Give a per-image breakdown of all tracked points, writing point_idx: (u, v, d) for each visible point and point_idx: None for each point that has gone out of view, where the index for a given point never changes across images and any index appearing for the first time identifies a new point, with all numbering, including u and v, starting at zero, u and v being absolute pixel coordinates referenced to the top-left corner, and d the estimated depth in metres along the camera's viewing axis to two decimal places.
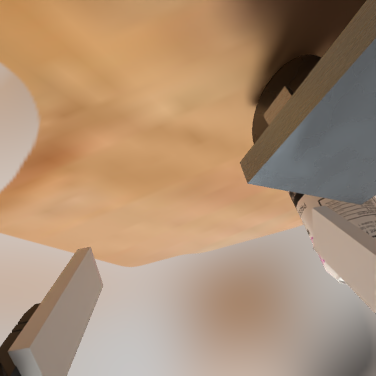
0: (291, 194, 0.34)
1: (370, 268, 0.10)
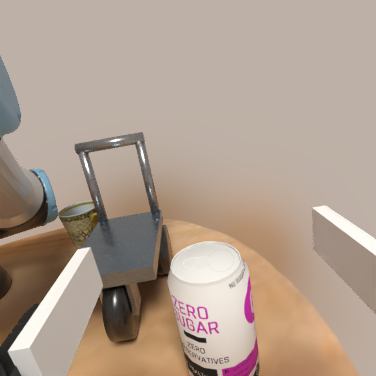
0: (192, 370, 0.27)
1: (370, 268, 0.10)
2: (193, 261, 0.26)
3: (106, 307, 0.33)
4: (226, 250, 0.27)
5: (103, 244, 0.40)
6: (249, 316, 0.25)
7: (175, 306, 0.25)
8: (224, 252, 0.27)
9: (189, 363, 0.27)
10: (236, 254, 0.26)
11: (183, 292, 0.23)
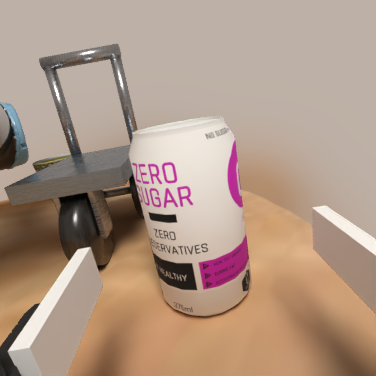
0: (162, 275, 0.21)
1: (370, 267, 0.10)
2: (163, 129, 0.20)
3: (63, 219, 0.27)
4: (206, 120, 0.21)
5: (69, 164, 0.34)
6: (235, 193, 0.19)
7: (137, 179, 0.19)
8: (203, 121, 0.21)
9: (159, 266, 0.21)
10: None
11: (144, 149, 0.17)
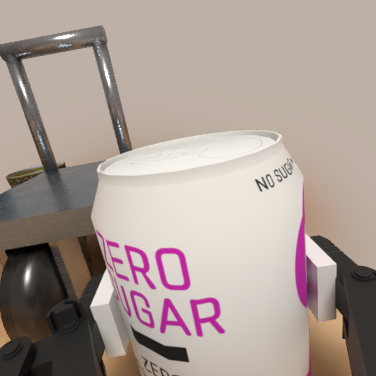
0: None
1: None
2: (159, 156, 0.11)
3: (7, 285, 0.17)
4: (238, 138, 0.11)
5: (32, 189, 0.25)
6: (304, 289, 0.09)
7: (107, 261, 0.09)
8: (235, 139, 0.11)
9: None
10: (265, 137, 0.10)
11: (116, 210, 0.08)
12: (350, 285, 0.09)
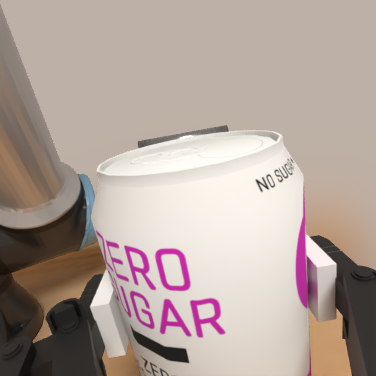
0: None
1: None
2: (159, 156, 0.11)
3: None
4: (238, 138, 0.11)
5: None
6: (305, 289, 0.09)
7: (107, 262, 0.09)
8: (235, 140, 0.11)
9: None
10: (266, 137, 0.10)
11: (116, 210, 0.08)
12: (350, 285, 0.09)
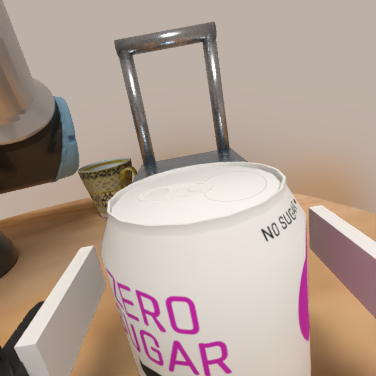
0: None
1: (364, 267, 0.11)
2: (166, 191, 0.11)
3: None
4: (242, 171, 0.12)
5: None
6: (306, 324, 0.10)
7: (116, 298, 0.10)
8: (239, 174, 0.11)
9: None
10: (269, 174, 0.11)
11: (128, 256, 0.08)
12: None
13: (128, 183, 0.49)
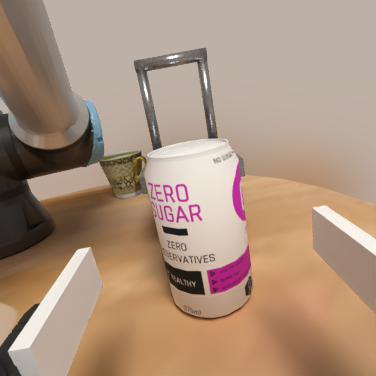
0: (173, 281, 0.23)
1: (370, 268, 0.10)
2: (174, 151, 0.22)
3: None
4: (212, 142, 0.23)
5: None
6: (239, 209, 0.21)
7: (152, 197, 0.21)
8: (210, 143, 0.23)
9: (170, 273, 0.23)
10: (224, 142, 0.22)
11: (159, 171, 0.20)
12: None
13: (139, 170, 0.61)
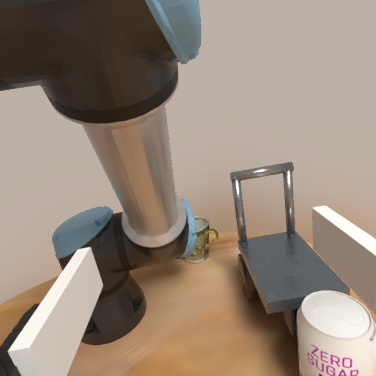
0: None
1: (370, 268, 0.10)
2: (322, 312, 0.30)
3: None
4: (347, 301, 0.31)
5: (270, 265, 0.45)
6: None
7: (313, 353, 0.29)
8: (347, 303, 0.31)
9: None
10: (360, 306, 0.30)
11: (328, 344, 0.27)
12: None
13: (207, 238, 0.68)
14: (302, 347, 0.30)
